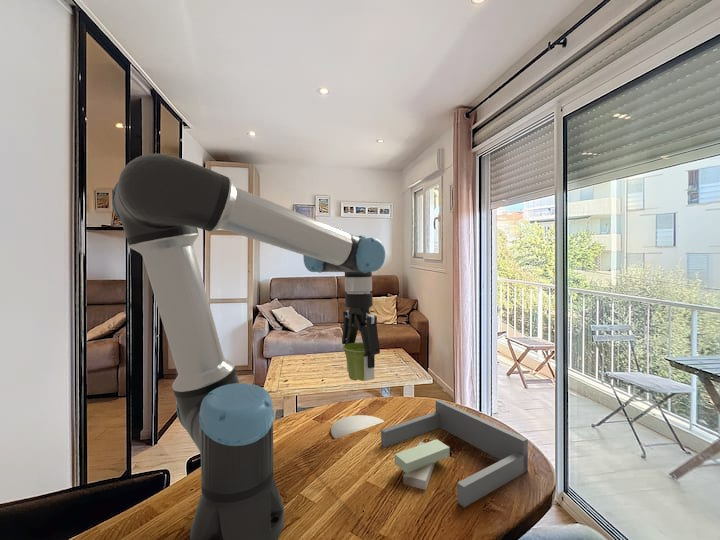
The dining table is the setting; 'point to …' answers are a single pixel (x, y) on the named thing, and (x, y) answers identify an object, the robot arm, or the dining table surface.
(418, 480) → the block
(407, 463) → the offcut top
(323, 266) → the robot arm
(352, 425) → the mat
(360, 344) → the plant pot
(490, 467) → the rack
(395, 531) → the dining table surface
